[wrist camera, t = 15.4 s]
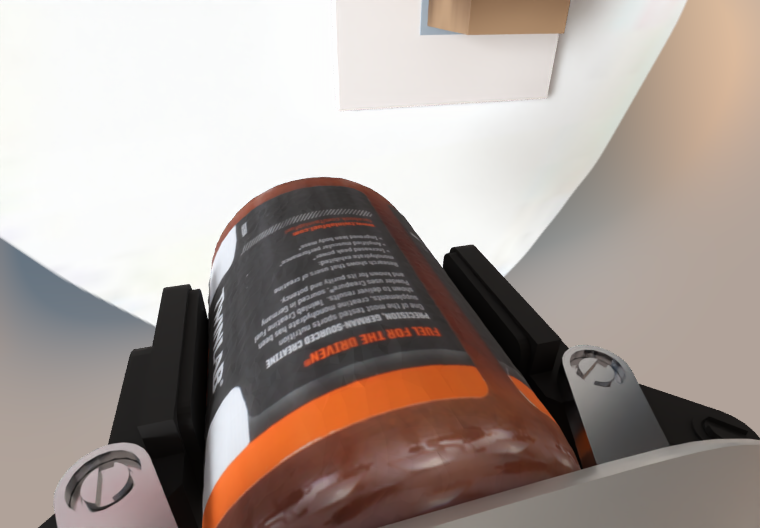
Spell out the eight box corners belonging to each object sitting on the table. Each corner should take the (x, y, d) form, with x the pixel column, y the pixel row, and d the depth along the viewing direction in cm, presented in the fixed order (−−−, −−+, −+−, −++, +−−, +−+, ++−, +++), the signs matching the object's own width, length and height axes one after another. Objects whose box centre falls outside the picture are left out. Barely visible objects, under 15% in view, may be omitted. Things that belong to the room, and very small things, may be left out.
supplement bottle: (160, 258, 12) (-25, 1095, 3) (337, 123, 12) (745, 650, 3) (298, 369, 16) (405, 922, 7) (440, 268, 15) (774, 717, 6)
